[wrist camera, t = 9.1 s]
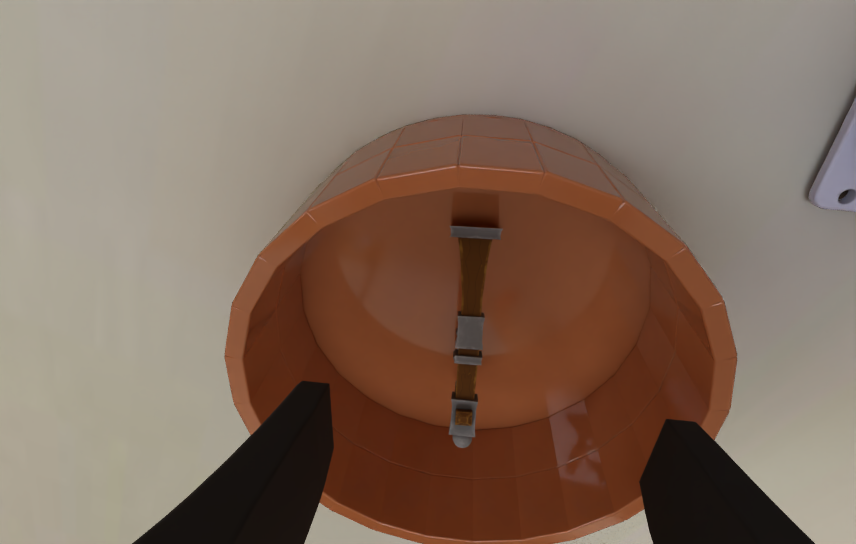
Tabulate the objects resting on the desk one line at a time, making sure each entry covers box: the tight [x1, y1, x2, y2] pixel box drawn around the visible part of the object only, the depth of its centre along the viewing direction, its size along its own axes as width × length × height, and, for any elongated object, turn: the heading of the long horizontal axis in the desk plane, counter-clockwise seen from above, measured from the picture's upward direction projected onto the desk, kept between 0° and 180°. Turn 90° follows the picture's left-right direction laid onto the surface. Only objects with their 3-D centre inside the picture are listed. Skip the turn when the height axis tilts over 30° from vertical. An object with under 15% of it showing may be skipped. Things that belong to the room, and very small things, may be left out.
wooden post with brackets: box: [449, 226, 503, 448], centre depth 18 cm, size 2×8×4 cm, turn 179°
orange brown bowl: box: [225, 115, 737, 544], centre depth 17 cm, size 15×15×6 cm
